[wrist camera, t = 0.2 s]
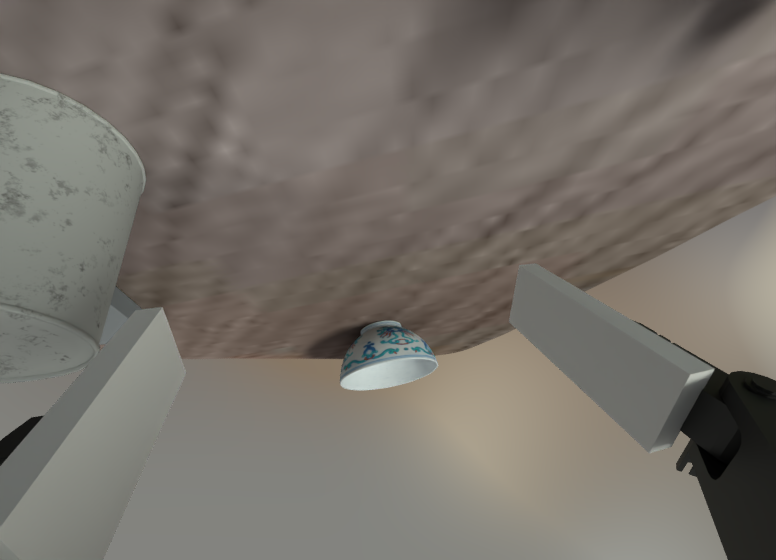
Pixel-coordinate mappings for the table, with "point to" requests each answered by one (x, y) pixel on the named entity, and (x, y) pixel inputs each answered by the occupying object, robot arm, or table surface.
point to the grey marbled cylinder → (59, 228)
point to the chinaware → (386, 358)
